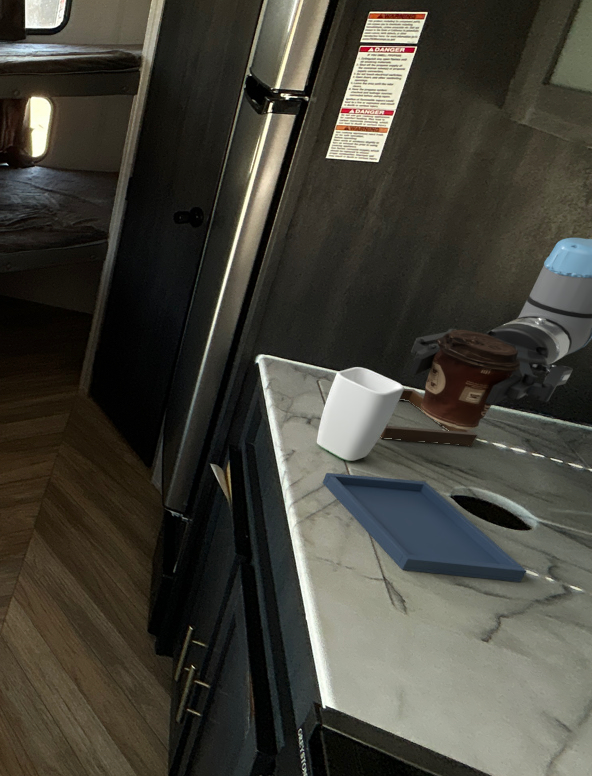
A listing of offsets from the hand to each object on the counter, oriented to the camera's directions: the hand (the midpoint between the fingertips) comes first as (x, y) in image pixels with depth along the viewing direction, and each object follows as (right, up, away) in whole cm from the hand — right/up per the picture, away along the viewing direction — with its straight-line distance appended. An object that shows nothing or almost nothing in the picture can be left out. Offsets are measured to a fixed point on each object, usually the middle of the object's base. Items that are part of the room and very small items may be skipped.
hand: (452, 380), depth 89 cm
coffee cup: (+4, -7, +5) cm, 9 cm away
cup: (+3, -17, +22) cm, 28 cm away
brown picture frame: (+22, -13, +31) cm, 40 cm away
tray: (0, -24, +6) cm, 24 cm away
